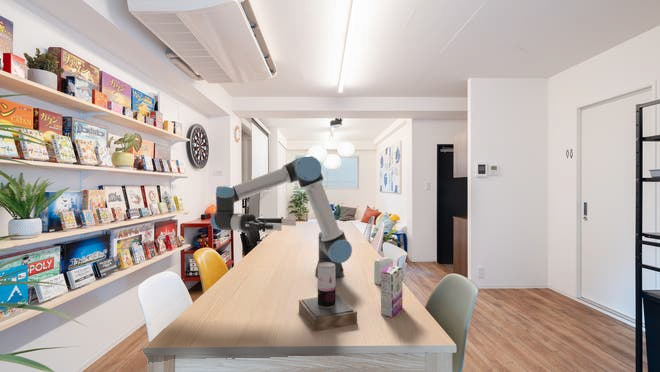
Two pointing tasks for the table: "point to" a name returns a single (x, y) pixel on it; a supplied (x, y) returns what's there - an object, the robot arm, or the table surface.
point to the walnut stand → (327, 314)
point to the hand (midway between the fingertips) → (288, 224)
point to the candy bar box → (391, 290)
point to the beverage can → (326, 284)
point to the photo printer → (381, 268)
